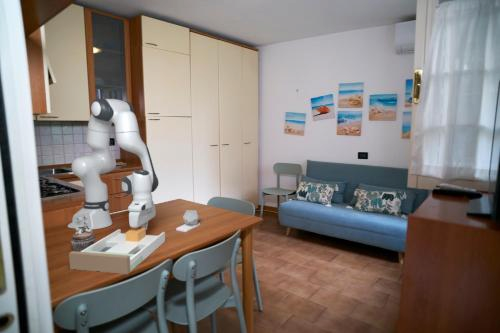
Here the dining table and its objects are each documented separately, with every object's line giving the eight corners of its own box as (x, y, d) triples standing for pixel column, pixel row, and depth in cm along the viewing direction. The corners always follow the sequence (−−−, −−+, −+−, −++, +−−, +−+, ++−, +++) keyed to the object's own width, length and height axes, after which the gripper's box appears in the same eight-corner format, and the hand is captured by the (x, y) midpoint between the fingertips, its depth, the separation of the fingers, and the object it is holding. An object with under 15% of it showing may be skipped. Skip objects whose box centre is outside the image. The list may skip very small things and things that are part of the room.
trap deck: (70, 269, 123) (68, 253, 122) (119, 237, 156) (118, 225, 155) (127, 274, 119) (126, 257, 118) (165, 241, 152) (164, 228, 151)
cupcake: (69, 248, 142) (67, 227, 141) (91, 243, 149) (90, 222, 148) (75, 255, 136) (74, 232, 134) (99, 248, 142) (97, 227, 141)
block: (126, 240, 145) (125, 232, 145) (134, 235, 153) (134, 227, 152) (138, 241, 144) (137, 233, 144) (146, 236, 152) (145, 228, 151)
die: (191, 229, 171) (201, 213, 173) (177, 220, 172) (188, 205, 174) (193, 230, 179) (203, 215, 181) (180, 221, 180) (190, 206, 182)
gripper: (146, 198, 165) (147, 223, 167) (125, 208, 145) (127, 237, 147) (158, 198, 164) (159, 224, 166) (138, 209, 144) (140, 238, 146)
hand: (144, 230), depth 156 cm, fingers closed
